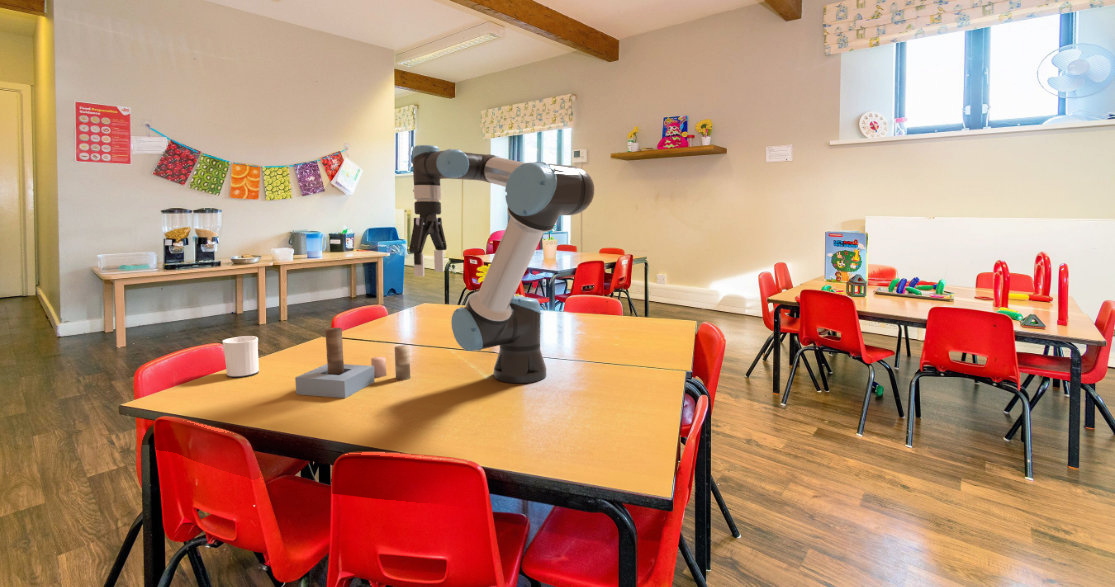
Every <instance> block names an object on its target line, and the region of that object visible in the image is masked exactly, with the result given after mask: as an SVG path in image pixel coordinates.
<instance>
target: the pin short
mask: <svg viewBox="0 0 1115 587" xmlns="http://www.w3.org/2000/svg"><path fill="white" fill-rule="evenodd" d="M370 361H371V365H370V366H374V378H384V377H385V376H387V358H386V357H385V356H375V357H372V358H371V359H370Z"/></svg>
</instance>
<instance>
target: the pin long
mask: <svg viewBox="0 0 1115 587" xmlns="http://www.w3.org/2000/svg"><path fill="white" fill-rule="evenodd" d="M324 331H325V345H326V346H325V347H326V362H327V363H326V364H327V366H328V375H341V374H343V373H344V364H345V363H344V349H343V348H344V346H343V344H344V343H343V328H342V327H329V328H325V330H324Z"/></svg>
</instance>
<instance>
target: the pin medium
mask: <svg viewBox="0 0 1115 587" xmlns="http://www.w3.org/2000/svg"><path fill="white" fill-rule="evenodd" d="M410 357H411V356H410V346H409V345H396V346H394V363H395V364H394V367H395V380H397V381H405V380H406V381H407V380H409V379H411V360H410V359H411V358H410Z"/></svg>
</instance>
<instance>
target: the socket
mask: <svg viewBox="0 0 1115 587" xmlns="http://www.w3.org/2000/svg"><path fill="white" fill-rule="evenodd" d="M294 378H295V392H296V395H300V396H301V395H302V396H315V397H328V398H340V399H346V398H348V397H350V396H353V395H354V394H355V393H357V392H358V391H360V390H363V389H364V388H366V387H368V386H370V385H372V384H373V383H375V377H374V366H371V365H364V364H348V363H346V364H345V363H344V373H343V374H341V375H328V366H327V363H325V364H323V365H322V366H319V367H317V368H313V369H311V370H309V371H307V372H305V373H303V374H300V375H298V376H295V377H294Z"/></svg>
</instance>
